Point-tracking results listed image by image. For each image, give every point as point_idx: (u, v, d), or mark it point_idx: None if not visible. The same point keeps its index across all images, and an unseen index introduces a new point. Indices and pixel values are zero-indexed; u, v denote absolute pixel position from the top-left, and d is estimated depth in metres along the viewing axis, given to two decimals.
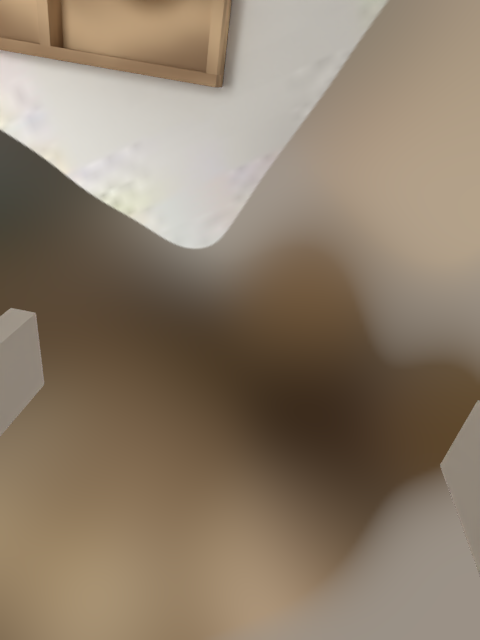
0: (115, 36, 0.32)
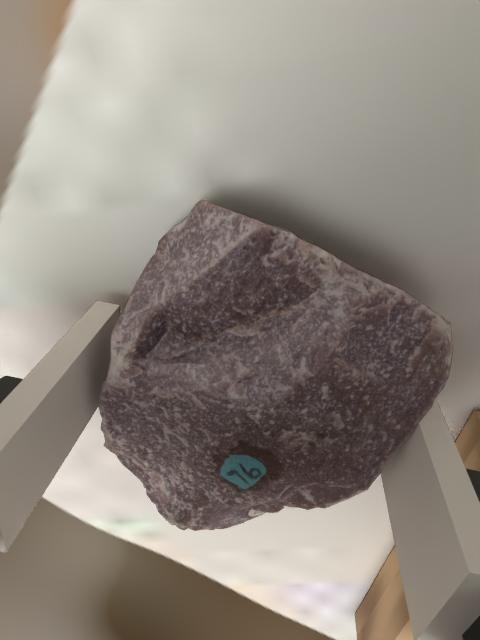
0: None
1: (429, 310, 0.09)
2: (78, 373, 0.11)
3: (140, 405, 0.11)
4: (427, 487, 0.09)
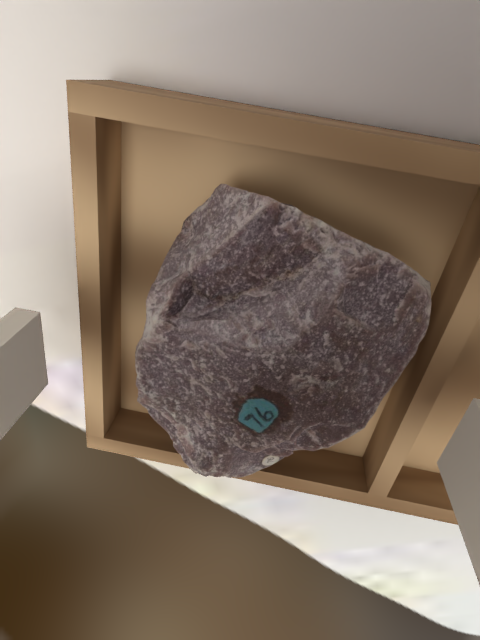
0: None
1: (410, 269, 0.11)
2: None
3: (171, 358, 0.13)
4: None
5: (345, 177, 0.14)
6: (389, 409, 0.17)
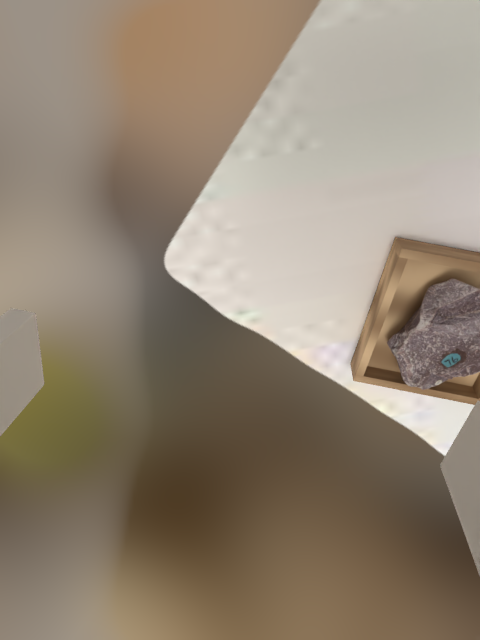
0: None
1: None
2: None
3: (425, 337, 0.37)
4: None
5: None
6: None
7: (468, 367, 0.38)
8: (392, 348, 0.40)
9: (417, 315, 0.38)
